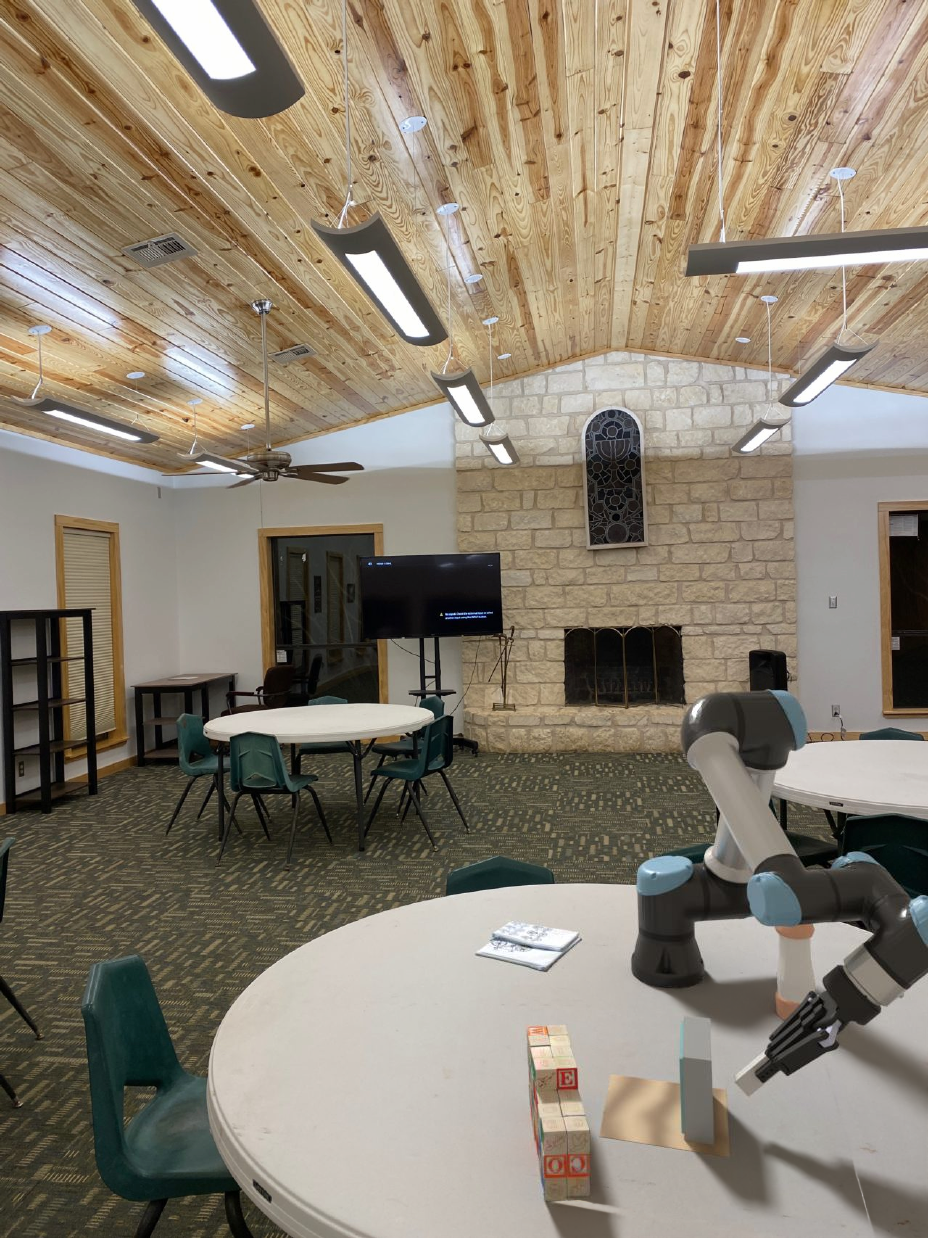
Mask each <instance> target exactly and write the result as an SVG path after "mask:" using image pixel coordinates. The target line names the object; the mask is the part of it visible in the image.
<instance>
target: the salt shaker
mask: <svg viewBox="0 0 928 1238" xmlns="http://www.w3.org/2000/svg"><path fill="white" fill-rule="evenodd" d="M774 929H775V931H776V933H777V934H778V939H779V940H778V947H779V948H778V949H779V951H778V953H779V956H778V962H777V971H776V982H777V983H776V986H777V990H776V992H775V1012H776V1014H777V1015H778V1016H779V1018H781V1019H783V1020H785V1019H786V1018H787V1017H788V1016H789V1015H790V1014H791V1013H792V1012H793V1011H794V1010H795V1009H796V1008H797V1007H798V1006H799V1005H800V1004H801V1003H802V1002H803V1000H804V999H805V997H806V996H807V994H808V993H809V992H810V991H812V990H813V991H814V992H815V993H816V979H815V974H814V967H813V962H812V953H811V952H812V951H811V950H812V949H811V938H812V937H813V935H814V933H815V931H816V930H815V926H814V924H806V925H796V926H794V927H775V926H774Z"/></svg>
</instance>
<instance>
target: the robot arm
mask: <svg viewBox="0 0 928 1238" xmlns="http://www.w3.org/2000/svg"><path fill="white" fill-rule="evenodd" d="M807 739H808V723H807V717H806V716H805V712H804V710H803V708H802V705H801V703H800V701H799V700H798V699H797V698H796V697H795V696H794V695H793V694H792V693H791V692H789V691H787V690H781V689H780V690H779V689H778V690H775V689H774V690H771V689H765V690H751V691H727V692H724V691H719V692H712V693H709V694H705V695H702V696H701V697H700V698H698V699H697V700H695V702H693V703H692V704H691V705H690V707H689V708H688V709H687V711H686V712H685V714H684V717H683V719H682V722H681V727H680V745H681V748H682V752H683V754H684V757H685V759H686V760H687V764H689V766H690V767H691V768H692V769H694V770H695V771H698V772H699V773H700V775H701V778H702V779H703V781H704V783H705V785H706V787H707V789H708V791H709V794H710V795H711V796H712V799H713V801H714V803H715V805H716V807H717V808H718V811H719V813H720V814H719V819H718V825H717V828H716V834H715V840H714V844H713V845H711V846H709V847H708V848H707V849H706V851H705V853H704V857H703V861H702V862H701V863H693V862H692V860H690V859H689V858H688V857H684V856H680V855H675V856H673V855H663V856H657V857H653V858H651V859H648V860H646V861H644V862H643V863H642V864H641V865H640V866H639V867H638V869H637V877H636V884H635V888H636V892H637V894H636V895H637V916H638V917H637V920H638V921H637V925H638V926H637V927H638V934H637V938H636V942H635V945H634V951H633V952H632V955H631V959H630V964H631V965H630V968H631V972H632V974H633V975H634V976H635V977H636V978H637V979H639V980H640V981H642V982H644V983H646V984H650V985H652V986H656V987H657V986H658V987H664V988H687V987H690V986H694V985H697V984H699V983H700V982H702V981H703V980H704V979H705V975H706V972H705V962H704V959H703V958H702V954H701V951H700V947H699V945H698V942H697V939H696V933H695V931H696V930H695V928H696V927H695V923H696V922H698V923H699V922H710V921H711V922H712V921H713V922H714V921H728V920H744V919H747V918H753V917H754V918H755V919H756V921H758V923H760V924H761V925H762V926H765V927H774V928H775V927H794V926H796V925H806V924H813V925H814V924H825V923H828V924H829V923H841V922H842V923H844V922H853V921H854V922H855V921H861V922H862V923H863V925H865V926H866V927H867V929H868V930H869V931H870V933H872V935H871V936H869V938H868V939H867V940H866V941H864V942H862V943H861V944H860V945H858V946H857V947H856V949H854V950H853V951H851V952H850V953H849V954H848V955H847V956H846V957H845V958H844V959H843V964H837V965H836V966H835V967H833V969H831V970H830V971H829V972H828V973H827V974H826V975H824V976H823V977H822V980H821V981H822V985H823V987H824V989H825V990H824V991H822V992H821V993H820V994H817V993H816V991H815V992H814V991H813V990H812V991H810V992H809V993H808V994H807V996H806V997H805V999H804V1000H803V1002H802V1003H801V1004H800V1005H799V1006H798V1007H797V1008H796V1009H795V1010H794V1011H793V1012H792V1013H791V1014H790V1015H789V1016H788V1017H787V1018H786V1020H785V1019H784V1021H783V1022H782V1023H781V1024H780V1025H779V1026H778V1027H777V1028H776V1029H775V1030H774V1031H773V1032H772V1033H771V1034H770V1035H769V1036H768V1039H769V1041H770V1042H769V1043H768V1044H767V1046H766V1049H765V1050H763V1051H762V1052H761V1053H760V1054H758V1056H757V1057H755V1058H754V1059H753V1060H751V1061H750V1063H748V1064H747V1065H746V1066H744V1067H743V1068H742V1069H740V1071H739V1072H737V1073H736V1074H735V1075H734V1076H733V1082H734V1084H736V1086H738V1087H739V1089H741V1091H742V1092H743V1093H744V1094H745V1095H746V1096H747V1097H748V1098H749V1097H750V1096H752V1095H753V1094H754V1093H755V1092H757V1091H758V1090H759V1089H760V1088H762V1087H763V1086H764V1085H765V1084H766V1083H767V1082H769V1081H770V1080H771V1079H772V1078H774V1076H776V1075H777V1074H778V1073H780V1072H782V1074H784V1075H785V1076H786V1077H789V1076H790V1075H792V1074H795V1072H797V1071H799V1070H800V1069H802V1068H803V1067H805V1066H807V1065H809V1064H810V1063H812V1062H813V1061H814V1060H817V1059H818V1058H820V1057H822V1056H824V1055H825V1054H826V1053H830V1052H833V1051H836V1050H837V1049H838V1048H839V1047H840V1043H839V1041H837V1040H836V1037H837V1035H839V1034H840V1033H842V1032H843V1031H844V1030H845V1028H846V1027H847V1026H848V1024H849V1023H850V1022H853V1023H854V1022H855V1023H856V1024H857V1025H858V1026H859V1025H860V1026H862V1027H863V1026H866V1025H867V1024H869V1023H870V1022H871V1021H873V1019H875V1018H876V1017H877V1016H878V1015H880V1014H881V1013H882V1007H889V1006H890V1005H891V1004H892V1003H893V1002H895V1001H896V1000H897V999H902V998H903V997H904V996H905V993H906V992H907V991H908V990H909V989H911V988H912V987H913V986H914V985H915V984H916V983H917V982H918V981H919V980H921V979H922V978H924V977H925V976H926V975H927V974H928V896H927V895H925V894H924V895H922V894H921V895H919V896H917V897H916V898H911V897H910V895H909V894H908V893H907V892H906V891H905V889H904V888H902V887H901V885H900V884H899V883H898V882H897V881H896V880H895V879H894V878H893V876H892V875H891V874H890V872H889V871H888V870H887V869H886V868H885V867H884V866H883V865H881V864H880V863H879V862H878V861H876V860H875V859H874V858H873V857H872V856H871V855H869V854H868V853H865V852H862V851H852V852H851V851H850V852H847V854H846V855H844V856H843V855H842V856H840V857H838V858H836V860H835V861H834V862H833V863H832V865H831V867H830V868H824V869H811V870H808V869H806V867H805V865H804V864H803V863H802V861H801V859H800V858H799V856H798V854H797V853H796V850H795V849H794V847H793V846H792V844H791V842H790V840H789V839H788V837H787V835H786V834H785V832H784V829H783V828H782V827H781V825H780V823H779V821H778V820H777V818H776V816H775V814H774V813H773V811H772V809H771V808H770V806H769V804H770V800H771V795H772V790H773V786H774V783H775V778H776V774H777V771H781V770H782V769H784V768H785V767H786V766H787V763H788V760H789V756H790V752H791V751H793V752H797V751H800V750H801V749H802V748H804V746H806V744H807Z"/></svg>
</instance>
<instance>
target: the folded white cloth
mask: <svg viewBox="0 0 928 1238" xmlns="http://www.w3.org/2000/svg"><path fill="white" fill-rule="evenodd" d="M579 935H580V933H579V932H577V931H573V930H566V929H561V928H553V927H549V926H548V927H547V926H541V925H537V924H530V923H523V922H517V921H513V920H512V921H509V922H508V923H506V924H505V925H504V926H502V927H500V928H499V929H497V930H496V931H494V932H492V933H491V937H492V938H491V939H490V940H489V943H487V944H485V945H484V946H483V947H481V949H479V950H477V951H476V952H475V954H474V955H475V956H478V957H479V956H480V957H485V958H490V959H495V960H498V961H503V962H505V963H506V962H507V963H511V964H515V965H520V966H524V967H529V968H531V969H534V970H537V971H539V972H541V971H544V972H547V970H548V969H549V968H550V967H551V966H552V965H553V964H555V962H557V961H558V960H559V959H560V958H561V957H562V956H564V955H565V954H566V953H567V952H568V951H570V950H571V949H572V948H573V947H575V946H576V945H577V944H578V943H579V942H580V941H581V940H582V937H580V936H579ZM521 946H527V947H530V948H522V947H521Z"/></svg>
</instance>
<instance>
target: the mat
mask: <svg viewBox="0 0 928 1238" xmlns="http://www.w3.org/2000/svg"><path fill="white" fill-rule="evenodd" d="M608 1083H609V1084H608V1089H607V1093H606V1099H605V1104H604V1110H603V1114H602V1120H601V1127H600V1131H599V1135H598V1136H599V1138H605V1139H610V1140H611V1139H612V1140H617V1141H625V1142H631V1143H637V1144H642V1145H643V1144H644V1145H651V1146H654V1147H655V1146H656V1147H663V1148H670V1149H676V1150H680V1151H689V1152H694V1153H701V1154H707V1155H714V1156H720V1157H724V1158H725V1157H726V1158H731V1151H730V1137H729V1119H728V1103H727V1089H723V1088H716V1087H712V1090H713V1123H714V1145H710V1144H704V1143H697V1142H691V1141H685V1134H683V1133H682V1129H681V1096H680V1082H679V1083H678V1082H673V1081H672V1082H671V1081H666V1080H665V1081H663V1080H658V1079H657V1080H656V1079H648V1078H644V1077H643V1078H640V1077H635V1076H626V1075H619V1074H613V1073H612V1074H610V1077H609V1081H608Z"/></svg>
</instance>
